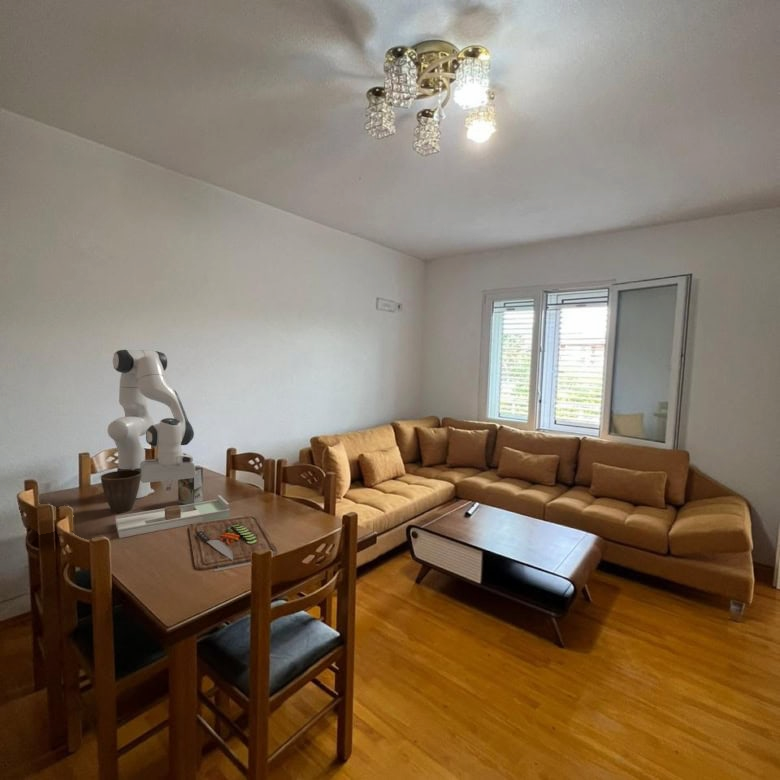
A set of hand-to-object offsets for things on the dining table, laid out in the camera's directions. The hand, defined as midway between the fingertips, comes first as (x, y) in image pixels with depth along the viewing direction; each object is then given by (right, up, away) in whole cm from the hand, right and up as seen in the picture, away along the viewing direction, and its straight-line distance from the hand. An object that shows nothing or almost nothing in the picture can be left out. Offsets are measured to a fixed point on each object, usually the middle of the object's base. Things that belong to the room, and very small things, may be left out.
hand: (168, 490), depth 174 cm
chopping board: (+33, -15, -17) cm, 40 cm away
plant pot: (-25, -11, +9) cm, 28 cm away
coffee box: (-1, -11, +22) cm, 24 cm away
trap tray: (+3, -12, -1) cm, 13 cm away
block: (+4, -10, -4) cm, 12 cm away
